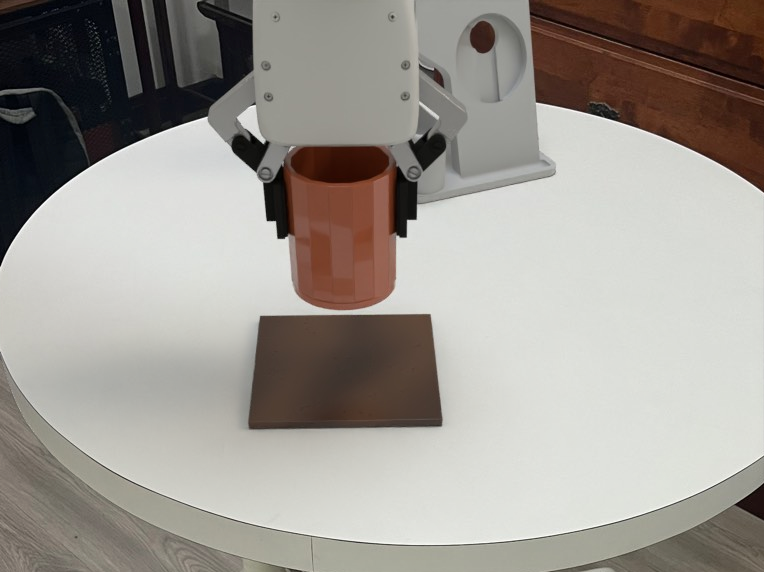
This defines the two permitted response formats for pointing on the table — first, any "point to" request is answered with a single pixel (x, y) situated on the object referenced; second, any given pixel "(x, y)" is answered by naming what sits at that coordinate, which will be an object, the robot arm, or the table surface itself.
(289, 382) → the coaster
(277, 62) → the robot arm
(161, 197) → the table surface
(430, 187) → the phone holder
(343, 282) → the cup
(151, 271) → the table surface
